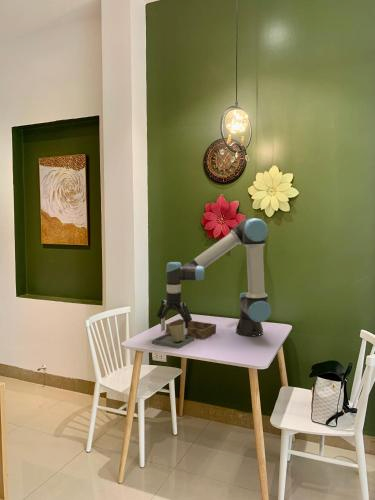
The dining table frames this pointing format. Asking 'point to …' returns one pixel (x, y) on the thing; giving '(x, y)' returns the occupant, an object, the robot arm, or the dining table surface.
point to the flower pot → (177, 331)
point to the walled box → (196, 329)
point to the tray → (171, 341)
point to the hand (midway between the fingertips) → (174, 332)
